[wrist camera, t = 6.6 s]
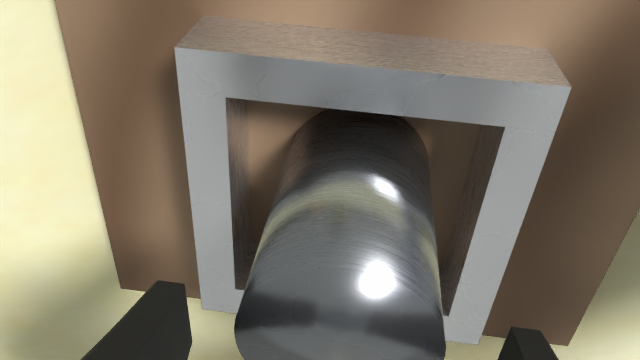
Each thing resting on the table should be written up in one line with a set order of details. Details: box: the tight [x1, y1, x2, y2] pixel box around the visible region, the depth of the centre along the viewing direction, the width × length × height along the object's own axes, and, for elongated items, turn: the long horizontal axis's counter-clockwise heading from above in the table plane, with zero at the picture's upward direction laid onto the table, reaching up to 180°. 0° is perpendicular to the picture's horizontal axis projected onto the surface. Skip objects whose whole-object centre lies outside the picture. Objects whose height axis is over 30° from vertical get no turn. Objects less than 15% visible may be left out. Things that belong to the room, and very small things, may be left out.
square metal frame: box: [174, 16, 571, 345], centre depth 16 cm, size 9×9×2 cm
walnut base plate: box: [55, 0, 640, 346], centre depth 18 cm, size 18×14×1 cm
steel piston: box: [234, 108, 446, 360], centre depth 14 cm, size 4×4×7 cm
